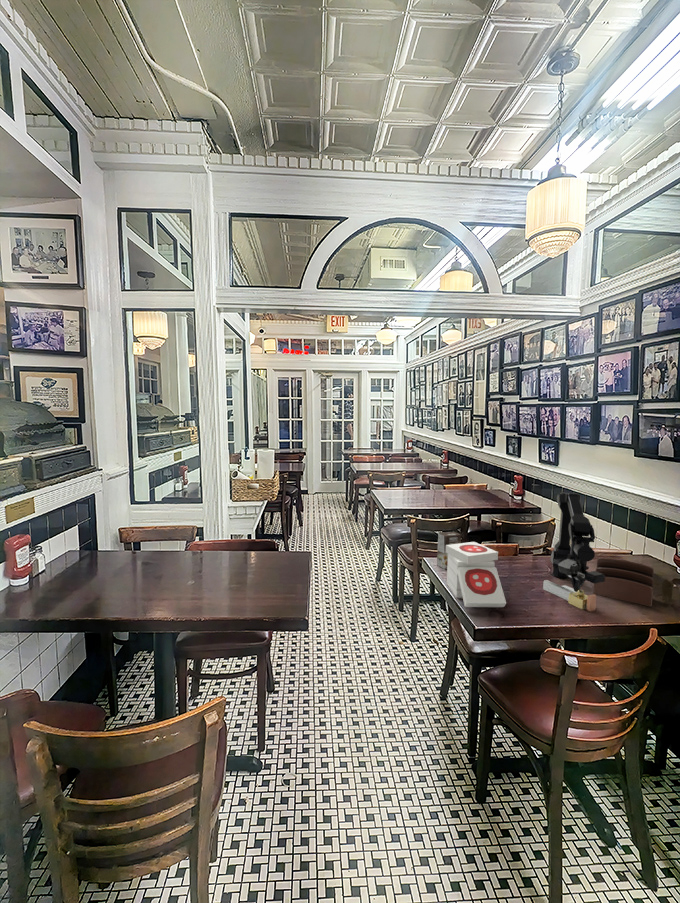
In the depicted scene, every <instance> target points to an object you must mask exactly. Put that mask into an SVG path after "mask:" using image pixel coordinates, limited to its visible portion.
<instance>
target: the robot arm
mask: <svg viewBox="0 0 680 903" xmlns="http://www.w3.org/2000/svg"><path fill="white" fill-rule="evenodd" d="M581 497H582V496H581V495H580V494H579V493H578V492H559V494H557V496H556V503H557V505H558V508H559V510H560V512H561V513H560V524H559V534H558V541H557V542H556V544H555V545H554V547H553V550H552V551H551V555H550V562H551V564H552V573H550V576H552V577H554V578H556V579H557V578H558V579H560V580H566V579H570V581H571V585H572V588H573V589H574V591H575V592H578V590H581V588H582V586H583V584H584V583H585V582H586V581H587V582H590V583H591V584H594V583H600V582H605V576H604V574H602V573H599V572H597V571H596V570H592V571H588V570H589V568H590V566H588V564H587V562H590V561H591V562H592V560H594V558H595V557H596V553H595V550H594V549H593V548H592V547H591V545H590V543H595V539H596V534H595V529H594V527H593V525H592V524H591V521H590V519H589V518H587V517H586V516H585V515H584V511H583V507H582V503H581V501H582V500H581Z"/></svg>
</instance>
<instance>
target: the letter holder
mask: <svg viewBox="0 0 680 903" xmlns="http://www.w3.org/2000/svg"><path fill="white" fill-rule="evenodd" d="M595 571H597V572H599V573H602V574H604V576H605V582H600V583H593V594H594V595H599V596H604V597H608V598H611V599H616V600H621V601H626V602H630V603H633V604H634V603H635V604H640V605H641V606H644V607H645V606H646V607H650V608H652V607H653V598H654V597H653V596H654V575H655V569H654V567H652V566H650V565H646V564H642V563H638V562H634V561H629V560H623V559H616V558H607V557H606V558H605V557H598V558H597V560H596V568H595Z"/></svg>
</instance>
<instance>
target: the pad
mask: <svg viewBox="0 0 680 903" xmlns="http://www.w3.org/2000/svg"><path fill="white" fill-rule="evenodd" d="M561 586H562V587H564V588H567V589H569V590H571V591H573V592H574V593H575V591H574V588H573V587H571V586H568V585H561Z"/></svg>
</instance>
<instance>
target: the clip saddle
mask: <svg viewBox="0 0 680 903" xmlns="http://www.w3.org/2000/svg"><path fill="white" fill-rule="evenodd" d="M585 592H586V591H585V590H583V589H579V590H578V592H575V593H571V594H569V600H568V602H567V603H568V604H570V605H571V606H574V607H576V608H578V609H580V610H585V603H587V597H588V595H587V594H586V593H585Z"/></svg>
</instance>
